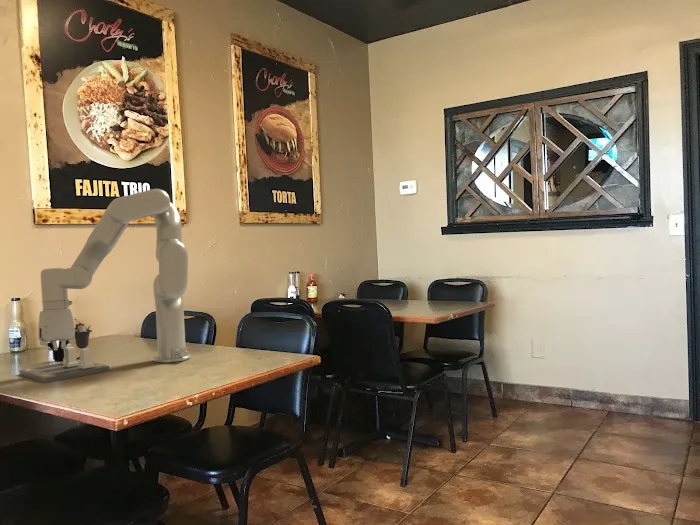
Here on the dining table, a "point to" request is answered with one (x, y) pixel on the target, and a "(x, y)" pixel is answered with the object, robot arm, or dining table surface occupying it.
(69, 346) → the breaker far
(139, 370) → the dining table surface
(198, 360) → the dining table surface
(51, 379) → the console
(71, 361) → the breaker mid
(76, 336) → the sundae
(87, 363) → the breaker near
